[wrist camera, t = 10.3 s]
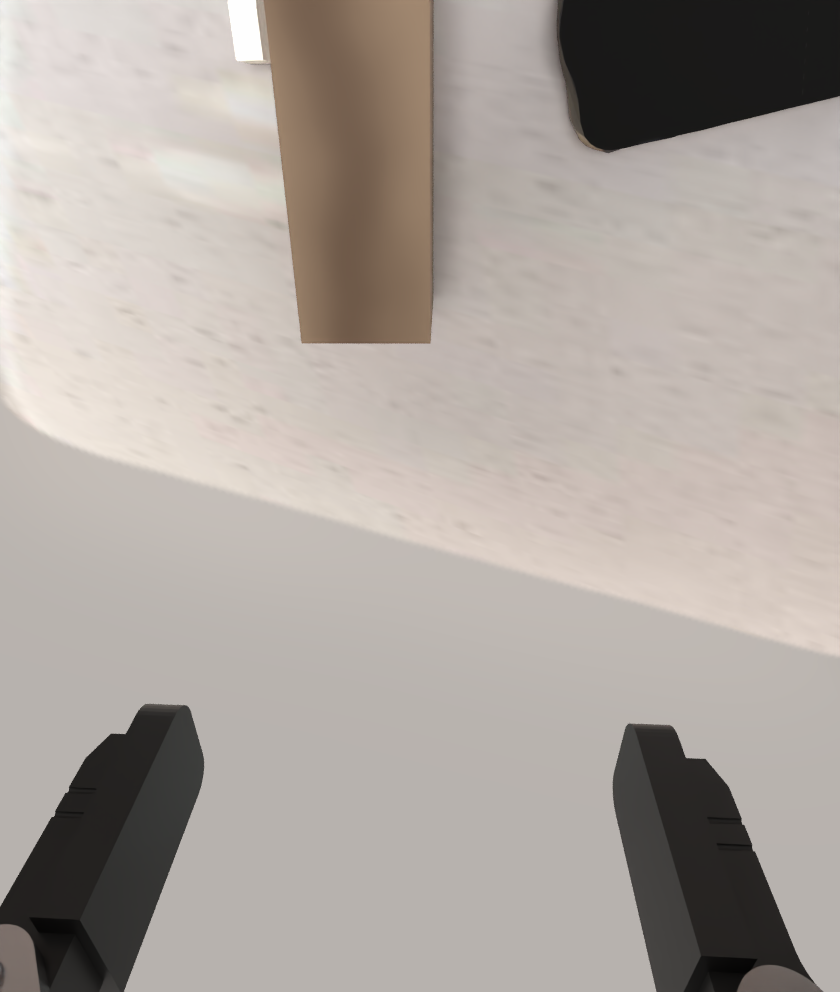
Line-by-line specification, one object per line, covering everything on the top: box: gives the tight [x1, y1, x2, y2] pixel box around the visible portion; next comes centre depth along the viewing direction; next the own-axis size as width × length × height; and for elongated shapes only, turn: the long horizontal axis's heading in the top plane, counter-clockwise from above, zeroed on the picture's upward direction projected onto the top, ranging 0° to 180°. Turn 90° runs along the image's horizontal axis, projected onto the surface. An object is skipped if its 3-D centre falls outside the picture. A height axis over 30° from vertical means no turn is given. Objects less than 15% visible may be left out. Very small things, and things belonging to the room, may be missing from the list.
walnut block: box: [264, 0, 433, 343], centre depth 29 cm, size 6×14×8 cm, turn 1°
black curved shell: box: [557, 0, 840, 153], centre depth 27 cm, size 16×8×4 cm, turn 103°
